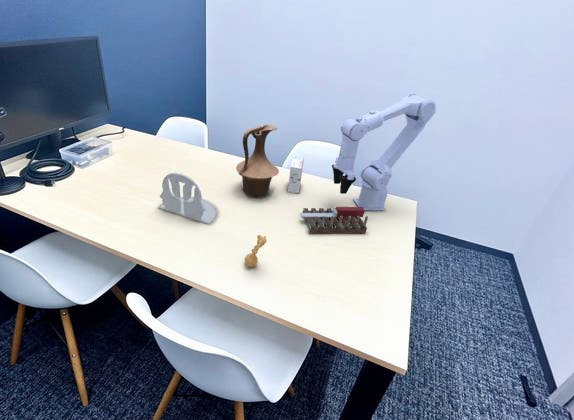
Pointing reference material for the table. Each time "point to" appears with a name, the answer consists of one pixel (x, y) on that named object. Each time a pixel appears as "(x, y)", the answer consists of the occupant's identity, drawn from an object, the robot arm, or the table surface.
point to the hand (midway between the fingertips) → (339, 188)
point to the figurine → (255, 252)
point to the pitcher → (257, 164)
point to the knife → (339, 212)
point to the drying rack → (335, 223)
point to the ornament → (185, 199)
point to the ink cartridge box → (295, 175)
